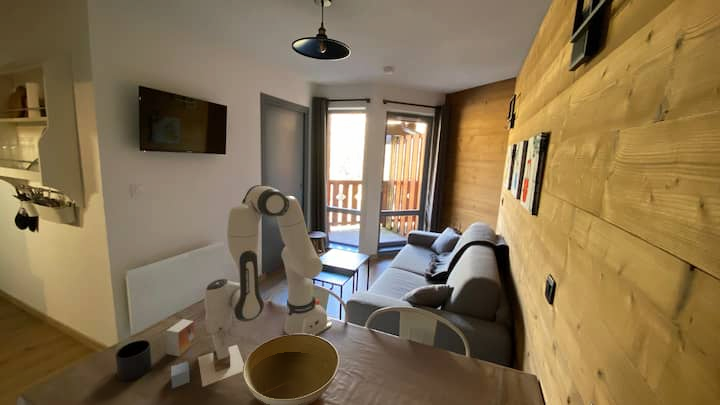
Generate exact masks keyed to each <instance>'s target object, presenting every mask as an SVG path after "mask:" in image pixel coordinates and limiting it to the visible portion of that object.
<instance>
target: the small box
mask: <svg viewBox="0 0 720 405" xmlns="http://www.w3.org/2000/svg"><path fill="white" fill-rule="evenodd" d="M165 332H166V333H165V334H166V348H167V350H166V351H167V352H166V353H167V355H170V356H171V355H172V356H175V357H180V356H182V355H183V354H184V353H185V352H186V351H187V350H188V349H190V348H191V347H193V346H194V345H195V344H196V341H195V339H196V338H195V320H194V321H193V320H189V319H184V318H182V319H181V320H179V321H178V322H176V323H175V324H173V325H172V326H170V327H169V328H168V329H166V330H165Z"/></svg>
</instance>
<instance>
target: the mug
mask: <svg viewBox="0 0 720 405" xmlns="http://www.w3.org/2000/svg"><path fill="white" fill-rule="evenodd" d="M151 350H152V349H151V343H150V341H148V340H146V339H145V340H143V339H142V340H136V341H131V342H128V343H127V344H125V345H123V346H121V347H120V348H119V349H118V350H117V351H116V352H115V361H116V362H115V363H116V373H117V379H118V380H119V381H121V382H131V381H135V380H138V379H140V378H141V377H143V376H145V375H146V374H147V373H148V372H150V371H151V369H152V366H153V364H152V351H151Z"/></svg>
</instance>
